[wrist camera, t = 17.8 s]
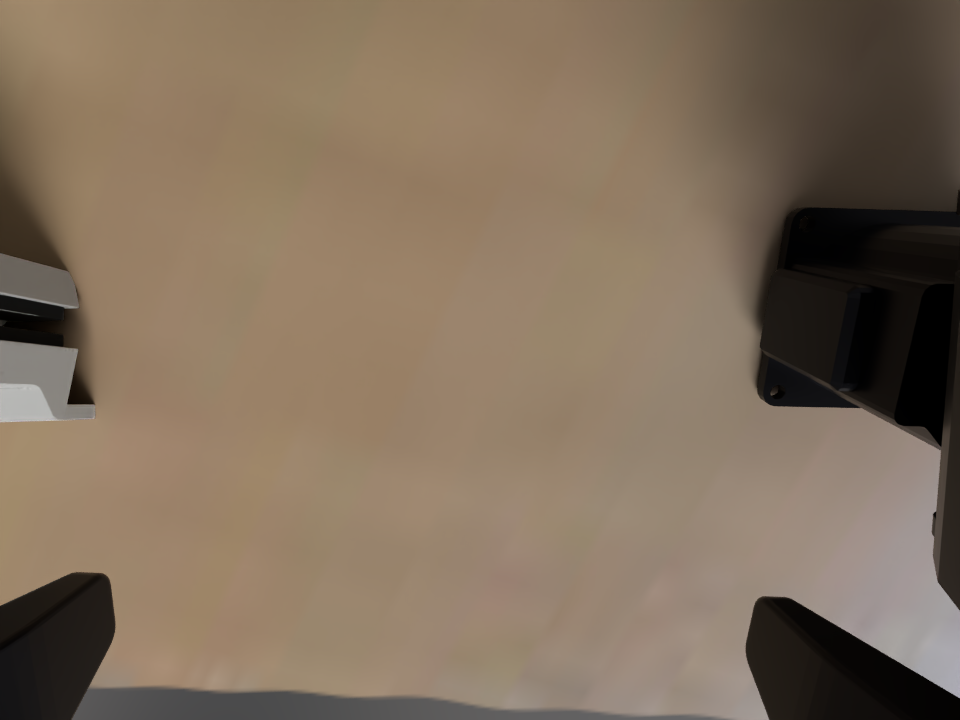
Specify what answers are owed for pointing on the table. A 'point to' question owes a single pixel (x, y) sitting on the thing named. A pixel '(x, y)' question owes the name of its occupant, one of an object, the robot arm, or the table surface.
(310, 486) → the table surface
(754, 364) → the table surface
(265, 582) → the table surface
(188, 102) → the table surface
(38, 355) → the grey half-round block
